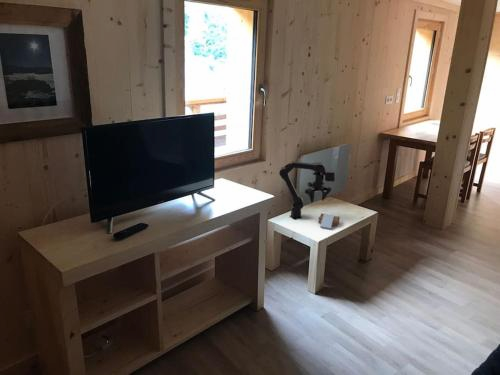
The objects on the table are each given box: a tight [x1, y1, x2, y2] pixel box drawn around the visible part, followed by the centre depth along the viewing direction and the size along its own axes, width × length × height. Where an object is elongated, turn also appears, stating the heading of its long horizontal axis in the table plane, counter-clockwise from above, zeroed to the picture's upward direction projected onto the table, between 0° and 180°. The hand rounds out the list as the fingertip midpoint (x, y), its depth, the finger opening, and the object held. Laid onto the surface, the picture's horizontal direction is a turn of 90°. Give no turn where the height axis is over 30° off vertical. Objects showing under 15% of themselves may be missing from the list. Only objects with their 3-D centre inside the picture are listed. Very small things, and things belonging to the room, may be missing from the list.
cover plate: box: [320, 213, 335, 230], centre depth 281 cm, size 7×2×10 cm
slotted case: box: [318, 213, 341, 228], centre depth 287 cm, size 13×8×4 cm, turn 67°
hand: (317, 201), depth 290 cm, fingers open, 9 cm apart
